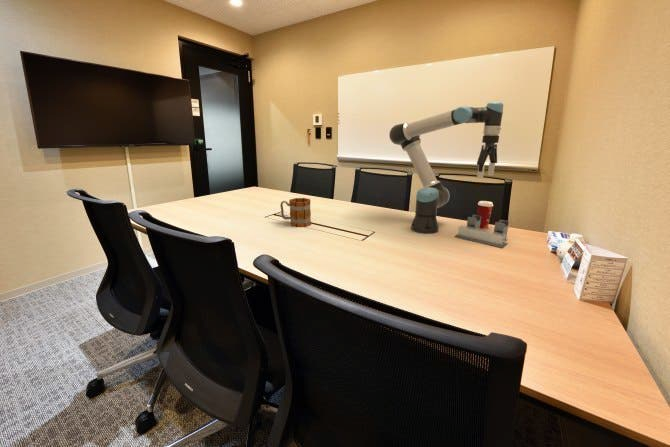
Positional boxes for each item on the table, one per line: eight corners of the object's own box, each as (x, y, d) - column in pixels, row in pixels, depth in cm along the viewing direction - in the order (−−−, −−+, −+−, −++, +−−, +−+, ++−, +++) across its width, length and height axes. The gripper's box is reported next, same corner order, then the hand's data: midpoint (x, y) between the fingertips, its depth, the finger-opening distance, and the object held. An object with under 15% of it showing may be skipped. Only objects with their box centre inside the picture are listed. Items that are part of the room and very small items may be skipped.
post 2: (492, 240, 161) (495, 222, 158) (497, 237, 166) (499, 219, 163) (501, 242, 158) (504, 224, 156) (506, 239, 163) (509, 221, 160)
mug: (314, 222, 195) (314, 198, 190) (307, 228, 182) (306, 203, 178) (286, 219, 200) (285, 196, 196) (276, 225, 188) (275, 201, 183)
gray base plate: (454, 236, 167) (454, 235, 167) (460, 233, 173) (460, 232, 173) (501, 248, 151) (502, 247, 151) (507, 244, 157) (507, 243, 156)
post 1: (465, 234, 171) (467, 217, 168) (470, 231, 176) (473, 214, 173) (473, 236, 168) (476, 218, 165) (478, 233, 173) (481, 216, 170)
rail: (457, 235, 168) (458, 226, 166) (461, 233, 171) (462, 224, 169) (501, 245, 153) (503, 236, 152) (504, 243, 156) (505, 234, 154)
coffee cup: (491, 229, 179) (495, 204, 175) (476, 228, 181) (479, 203, 176) (487, 225, 187) (491, 200, 183) (473, 224, 189) (476, 200, 184)
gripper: (489, 135, 148) (482, 180, 154) (507, 134, 164) (501, 174, 170) (473, 135, 153) (468, 178, 159) (492, 134, 169) (487, 173, 175)
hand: (485, 176), depth 165 cm, fingers open, 13 cm apart
